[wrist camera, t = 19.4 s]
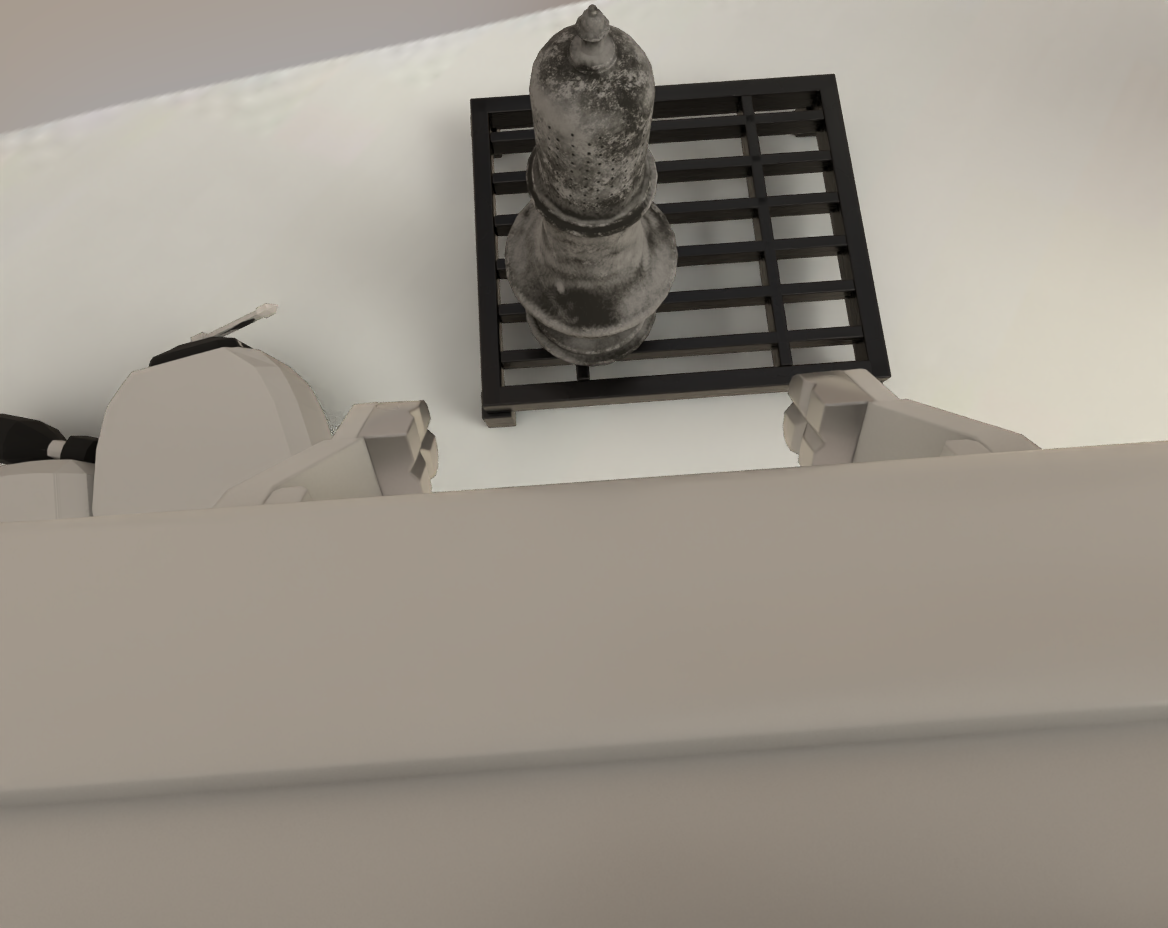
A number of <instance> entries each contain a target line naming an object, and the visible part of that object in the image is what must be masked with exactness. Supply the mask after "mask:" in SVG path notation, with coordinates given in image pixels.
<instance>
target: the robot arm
mask: <svg viewBox="0 0 1168 928" xmlns="http://www.w3.org/2000/svg"><path fill="white" fill-rule="evenodd" d="M788 395H789V396H790V398H791V400H792V401H793V403H792V404H791V405H790V406H789V407H788V408H787V410H786V411H785V413H784V421H783V431H784V438H785V441H786V444H787V446H788V448H789V449H790V451H792V452H794V453H796V454H798V455H799V458H798V463H799V464H800V466H801V467H787V468H773V469H759V470H745V471H730V472H716V473H702V474H688V475H674V476H659V477H645V478H631V479H617V480H603V481H589V482H574V483H560V484H546V485H532V486H518V487H503V488H489V489H475V490H461V491H447V492H432V493H431V490H432V485H431V481H430V480H431V479H432V478H433V477H435V476H436V473H437V469H438V448H437V442H436V438H435V436H434V435H433V434H432V433H431V432H430V431H429V430H428V429H427V428H428V425H429V423H430V420H431V417H430V413H429V410H428V406H427V404H426V402H425V401H424V400H418V401H398V402H380V403H378V402H372V403H362V404H354V405H353V406H352V408H351V409H350V411H349V412H348V414H347V415H346V417H345V418H344V420H343V422H342V423H341V425H340V426H339V428H338V429H337V431H336V432H335V434H334V436H333V437H332V439H328V440H323V441H321V442H319V443H317V444H315V445H313V446H311V447H309V448H307V449H305V450H303V451H301V452H299V453H297V454H296V455H294V456H292V457H290V458H288V459H286V460H284V461H282V462H280V463H278V464H276V465H274V466H272V467H270V468H268V469H267V470H265V471H263V472H261V473H259V474H257V475H255V476H253V477H251V478H249V479H247V480H245V481H243V482H241V483H239V484H238V485H236V486H234V487H232V488H230V489H228V490H226V492H225V493H224V494H223V495H222V497H221V498H220V499H219V500H218V501H217V503H216V504H215V505H214V506H213V508H207V509H193V510H179V511H165V512H151V513H137V514H123V515H109V516H95V517H81V518H67V519H52V520H38V521H13V522H0V928H1168V441H1154V442H1140V443H1126V444H1112V445H1097V446H1083V447H1069V448H1055V449H1041V448H1040V447H1038V446H1037V445H1036V444H1034V443H1033V442H1032V441H1030V440H1029V439H1027V438H1026V437H1025V436H1023V435H1022V434H1019V433H1016V432H1012V431H1009V430H1006V429H1003V428H999V427H996V426H993V425H990V424H987V423H983V422H980V421H977V420H974V419H970V418H967V417H964V416H961V415H957V414H954V413H951V412H948V411H944V410H941V409H938V408H935V407H931V406H928V405H925V404H922V403H918V402H915V401H912V400H909V399H899V398H898V397H897V396H896V395H894V394H893V393H892V392H891V391H890V390H889V389H888V388H886V387H885V386H884V385H883V384H882V383H881V382H880V381H878V380H877V379H876V378H875V377H874V376H873V375H872V374H871V373H869V372H868V371H867V370H866V369H852V370H843V371H842V370H836V371H825V372H814V373H803V374H797V375H794V376H793V377H792V379H791V381H790V384H789V390H788Z"/></svg>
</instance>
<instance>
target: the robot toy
mask: <svg viewBox="0 0 1168 928" xmlns="http://www.w3.org/2000/svg"><path fill="white" fill-rule="evenodd" d="M277 308H278V305H276V304H267V303H265V304H263V305H261V306H259V307H257V308H256V311H254V312H252V313H250V314H247V315H245V316H243V317H241V318H239V319H237V320H235V321H233V322H231V323H229V324H227V325H225V326H223V327H221V328H219V329H217V330H215V331H213V332H211V333H209V334H206V333H203V332H201V333H199V334H197V335H195V336H193V337H191V342H190V343H186V344H182V345H179V346H177V347H175V348H173V349H171V350H169V351H167V352H164V353H162V354H160V355H157V356H155V357H153V358H152V359H151V361H150V364H149V367H148V368H144V369H141V370H137V371H133V372H131V374H130V375H129V376H128V378H127V379H126V380H125V381H124V383H123V384H122V385H121V387H120V388H119V389H118V391H117V392H116V394H115V395H114V397H113V398H112V400H111V401H110V403H109V404H108V406H107V409H106V412H105V415H104V418H103V422H102V427H101V431H100V436H99V438H94V437H89V436H70V437H69V439H68V440H67V441H66V439H65V437H64V436H63V435H62V434H61V433H60V431H59V430H57V429H55V428H53V427H51V426H49V425H47V424H45V423H43V422H41V421H38V420H33V419H28V418H23V417H17V416H12V415H7V414H0V463H3V464H7V465H3V466H0V522H13V521H38V520H52V519H67V518H81V517H95V516H109V515H123V514H137V513H151V512H165V511H179V510H193V509H207V508H213V506H214V505H215V504H216V503H217V501H218V500H219V499H220V498H221V497H222V495H223V494H224V493H225V492H226V490H228V489H230V488H232V487H234V486H236V485H238V484H239V483H241V482H243V481H245V480H247V479H249V478H251V477H253V476H255V475H257V474H259V473H261V472H263V471H265V470H267V469H268V468H270V467H272V466H274V465H276V464H278V463H280V462H282V461H284V460H286V459H288V458H290V457H292V456H294V455H296V454H297V453H299V452H301V451H303V450H305V449H307V448H309V447H311V446H313V445H315V444H317V443H319V442H321V441H323V440H328V439H332V434H331V431H330V429H329V426H328V423H327V420H326V417H325V414H324V412H323V410H322V408H321V406H320V404H319V402H318V400H317V398H316V396H315V394H314V392H313V391H312V389H311V388H310V386H309V385H308V383H307V382H306V381H305V380H304V379H302V378H301V377H300V376H299V375H298V374H297V373H296V372H295V371H293V370H292V369H291V368H290V367H289V366H287V365H285V364H283V363H282V362H280V361H278V360H276V359H275V358H273V357H271V356H269V355H268V354H266V353H264V352H262V351H261V350H257V349H253V348H251V347H249V346H247V345H246V344H244V343H242V342H240V341H239V340H237V339H235V338H226V337H224V336H226V335H228V334H230V333H232V332H234V331H236V330H238V329H240V328H243V327H245V326H247V325H249V324H251V323H253V322H255V321H257V320H259V319H261V318H263V317H264V318H268V317H270V316H272V315H274V314H276V311H277Z"/></svg>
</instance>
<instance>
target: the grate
mask: <svg viewBox="0 0 1168 928" xmlns="http://www.w3.org/2000/svg"><path fill="white" fill-rule="evenodd" d="M470 109H471V116H470V120H471V137H472V156H473V181H474V206H475V231H476V256H477V281H478V306H479V331H480V356H481V381H482V392H481V400H482V419H483V420H484V422H485V423H486V424H487V426H488V427H489V428H496V427H509V426H516V415H515V411H526V410H540V409H554V408H568V407H582V406H595V405H609V404H623V403H637V402H651V401H664V400H678V399H692V398H706V397H720V396H733V395H747V394H761V393H775V392H788V390H789V384H790V381H791V379H792V377H793V376H794V375H797V374H803V373H814V372H825V371H836V370H842V371H843V370H852V369H866V370H867V371H868V372H869V373H871V374H872V375H873V376H874V377H875V378H876V379H877V380H878V381H880V382H881V383H882V384H883V382H884V381H886V380H887V379H889V378H890V377H891V372H890V367H889V361H888V356H887V351H886V345H885V340H884V335H883V329H882V324H881V319H880V313H879V308H878V303H877V297H876V292H875V287H874V281H873V276H872V270H871V265H870V260H869V254H868V249H867V244H866V238H865V233H864V228H863V222H862V217H861V212H860V206H859V201H858V196H857V190H856V185H855V180H854V174H853V169H852V163H851V158H850V153H849V147H848V142H847V137H846V131H845V126H844V121H843V115H842V110H841V105H840V99H839V94H838V89H837V83H836V78H835V74H824V75H810V76H795V77H781V78H766V79H751V80H737V81H722V82H708V83H693V84H679V85H664V86H655V97H654V106H653V113H652V119H658V118H672V117H687V116H701V115H716V114H730V113H737V115H734V116H719V117H705V118H690V119H676V120H661V121H651V127H650V134H649V142H648V144H657V143H671V142H685V141H700V140H714V139H729V138H741V144H742V151H743V156H734V157H719V158H705V159H690V160H676V161H662V162H655V164H656V170H657V175H658V177H657V184H660V183H675V182H689V181H703V180H718V179H732V178H746V179H747V186H748V192H749V198H738V199H724V200H710V201H696V202H681V203H667V204H655V205H656V206H657V207H658V208H659V209H660V210H661V211H662V213H663V214H664V215H665V216H666V218H667V220H668V222H669V224H682V223H697V222H711V221H725V220H739V219H752V220H753V227H754V234H755V241H748V242H734V243H720V244H705V245H691V246H677V252H678V258H677V267H681V266H696V265H710V264H724V263H738V262H752V261H759V268H760V275H761V282H762V286H752V287H738V288H724V289H710V290H696V291H682V292H669V293H668V295H667V297H666V298H665V299H664V301H663V302H662V303H661V304H660V306H659V307H658V308H657V309H656V313H657V312H671V311H685V310H699V309H713V308H727V307H741V306H755V305H765V309H766V316H767V323H768V330H769V332H762V333H748V334H734V335H720V336H706V337H692V338H678V339H664V340H651V341H643V342H642V344H641V345H640V346H639V347H638V348H637V349H636V350H634V351H633V352H632V353H630V354H629V355H628V356H626V357H625V358H623V359H620V360H618V361H627V360H641V359H655V358H669V357H682V356H696V355H710V354H724V353H738V352H752V351H766V350H771V351H772V358H773V364H774V367H763V368H749V369H735V370H721V371H707V372H693V373H680V374H666V375H652V376H638V377H624V378H610V379H596V380H590V375H589V366H583V365H576V373H577V381H569V382H555V383H541V384H527V385H513V386H505V379H504V369H516V368H529V367H543V366H557V365H571V363H569V362H566V361H563V360H561V359H558V358H556V357H555V356H554V355H552V354H551V353H550V352H548V351H547V350H546V349H544V348H539V349H525V350H511V351H503V338H502V323H517V322H527V319H526V311H525V308H524V307H523V306H522V304H521V303H513V304H501V296H500V279H508V278H507V274H506V265H505V259H499V255H498V236H508V234H509V232H510V230H511V227H512V225H513V223H514V221H515V219H516V217H517V216H518V214H510V215H497V213H496V195H503V194H517V193H528V189H527V181H526V171H518V172H504V173H495V172H494V158H501V157H502V154H512V153H527V152H532V151H533V149H534V147H535V145H536V141H535V133H534V129H531V130H516V131H502V132H500V129H513V128H527V127H534V125H533V116H532V108H531V100H530V95H518V96H504V97H489V98H475V99H470ZM788 109H795V111H792V112H777V113H763V114H755V113H754V112H759V111H774V110H788ZM786 134H795V136H796V137H805V136H816V137H817V143H818V148H819V151H805V152H791V153H777V154H762V155H761V152H760V146H759V139H758V136H772V135H786ZM818 172H823V177H824V183H825V188H826V192H824V193H810V194H795V195H781V196H767V192H766V185H765V178H764V176H775V175H789V174H804V173H818ZM825 213H830V217H831V223H832V228H833V234H834V235H833V236H819V237H805V238H790V239H776V240H774V238H773V231H772V224H771V218H770V217H782V216H796V215H810V214H825ZM823 256H837V257H838V263H839V268H840V274H841V280H836V281H822V282H808V283H794V284H780V277H779V270H778V264H777V260H780V259H794V258H808V257H823ZM839 299H845V303H846V308H847V314H848V320H849V325H850V326H846V327H832V328H818V329H804V330H790V331H788V330H787V323H786V316H785V310H784V303H797V302H811V301H825V300H839ZM849 344H853V348H854V354H855V360H856V361H846V362H832V363H818V364H804V365H792V364H793V362H792V356H791V349H794V348H808V347H821V346H835V345H849Z"/></svg>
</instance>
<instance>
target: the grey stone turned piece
mask: <svg viewBox="0 0 1168 928" xmlns="http://www.w3.org/2000/svg"><path fill="white" fill-rule="evenodd" d="M529 92H530V100H531V108H532V116H533V125H534V133H535V141H536V145H535V147H534V149H533V151H532V153H531V155H530V157H529V159H528V164H527V170H526V181H527V189H528V194H529V196H530V198H531V201H530V202H529V203H528V204H527V205H526V206H525V208H524V209H523V210H522V211H521V212H520V213H519V214H518V216H517V217H516V219H515V221H514V223H513V225H512V227H511V230H510V232H509V234H508V237H507V243H506V249H505V254H504V256H505V265H506V274H507V278H508V280H509V283H510V285H511V288H512V290H513V292H514V295H515V297H516V298H517V299H518V301H519V302H520V303H521V304H522V306H523V307H524V308H525V311H526V319H527V322H528V324H529V326H530V329H531V331H532V334H533V336H534V337H535V338H536V339H537V341H538V342H539V343H540V344H541V346H542V347H543V348H544V349H546V350H547V351H548V352H550V353H551V354H552V355H554V356H555V357H556V358H558V359H561V360H563V361H566V362H569V363H571V364H574V365H583V366H599V365H607V364H610V363H613V362H615V361H618V360H620V359H623V358H625V357H626V356H628V355H629V354H630V353H632V352H633V351H634V350H636V349H637V348H638V347H639V346H640V345H641V344H642V342H643V341H644V340H645V339H646V337H647V336H648V335H649V332H650V330H651V328H652V325H653V323H654V320H655V315H656V309H657V308H658V307H659V306H660V304H661V303H662V302H663V301H664V299H665V298H666V297H667V295H668V293H669V290H670V288H671V285H672V283H673V281H674V278H675V276H676V267H677V258H678V252H677V246H676V241H675V235H674V233H673V230H672V228H671V226H670V224H669V222H668V220H667V218H666V216H665V215H664V214H663V213H662V211H661V210H660V209H659V208H658V207H657V206H656V205H655V204H654V202H653V198H654V196H655V193H656V186H657V177H658V175H657V170H656V164H655V160H654V158H653V156H652V154H651V152H650V150H649V148H648V142H649V134H650V127H651V120H652V113H653V106H654V97H655V84H654V77H653V72H652V66H651V64H650V62H649V60H648V58H647V56H646V54H645V52H644V51H643V50H642V49H641V48H640V46H639V45H638V44H637V43H636V42H635V41H634V40H633V39H632V38H631V37H630V35H628V34H626V33H625V32H623V31H622V30H620V29H619V28H616V27H613V26H610V25H609V20H608V19H607V18H606V17H605V16H604V15H603V13H602V12H601V11H600V10H599V9H597V7H596V6H595V5H593V4H592V5H590V6H589V7H588V9H586V10H585V11H584V12H583V14H582V15H581V16H580V17H578V19H577V22H576V24H575V25H572V26H569V27H566V28H564V29H562V30H561V31H559V32H558V33H556V34H555V35H553V37H552V38H551V39H550V40H549V41H548V42H547V43H546V44H545V45H544V47H543V48H542V49H541V50H540V51H539V53H538V55H537V57H536V59H535V61H534V63H533V67H532V73H531V79H530V87H529Z"/></svg>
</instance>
